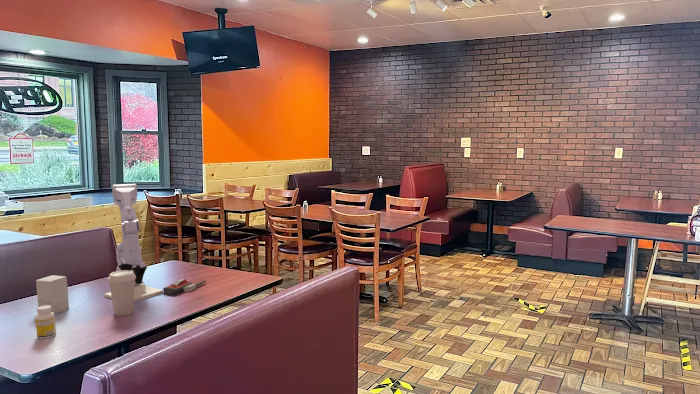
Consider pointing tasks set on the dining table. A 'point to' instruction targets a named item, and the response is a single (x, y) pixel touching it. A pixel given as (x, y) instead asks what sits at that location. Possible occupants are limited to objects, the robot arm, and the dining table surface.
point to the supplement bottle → (45, 322)
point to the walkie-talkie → (180, 287)
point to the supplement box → (53, 293)
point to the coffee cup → (122, 291)
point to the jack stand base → (141, 292)
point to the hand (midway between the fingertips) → (133, 282)
